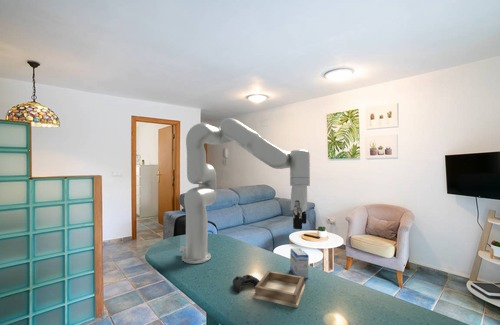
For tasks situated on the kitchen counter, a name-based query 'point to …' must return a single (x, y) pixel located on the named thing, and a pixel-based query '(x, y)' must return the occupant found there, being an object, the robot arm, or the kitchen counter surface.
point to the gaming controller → (244, 282)
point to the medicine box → (299, 262)
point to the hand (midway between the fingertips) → (300, 226)
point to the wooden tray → (280, 288)
